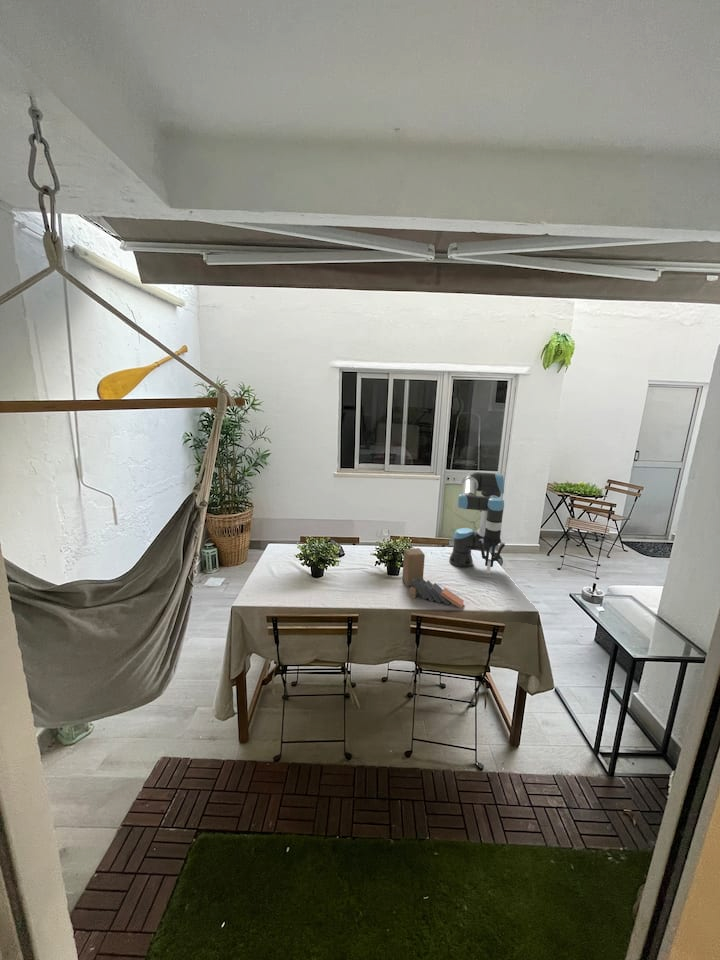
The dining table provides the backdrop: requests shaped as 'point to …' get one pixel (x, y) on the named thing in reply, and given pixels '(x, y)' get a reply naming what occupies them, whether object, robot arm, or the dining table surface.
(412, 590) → the end stop
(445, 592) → the domino
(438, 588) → the domino
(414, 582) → the domino
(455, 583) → the dining table surface
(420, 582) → the domino
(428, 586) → the domino
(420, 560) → the block
